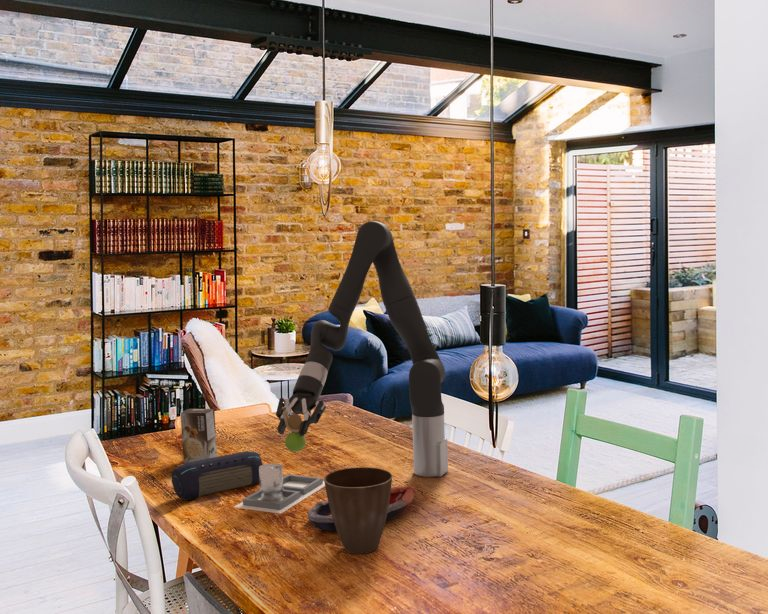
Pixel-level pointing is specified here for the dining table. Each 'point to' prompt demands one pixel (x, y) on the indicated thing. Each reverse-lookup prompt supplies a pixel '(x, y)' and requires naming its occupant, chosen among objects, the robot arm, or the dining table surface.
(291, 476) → the compartment tray
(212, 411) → the coffee box
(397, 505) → the dish
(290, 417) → the snail figurine
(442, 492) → the dining table surface
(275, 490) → the silver metal cylinder
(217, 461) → the portable speaker
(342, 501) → the plant pot
